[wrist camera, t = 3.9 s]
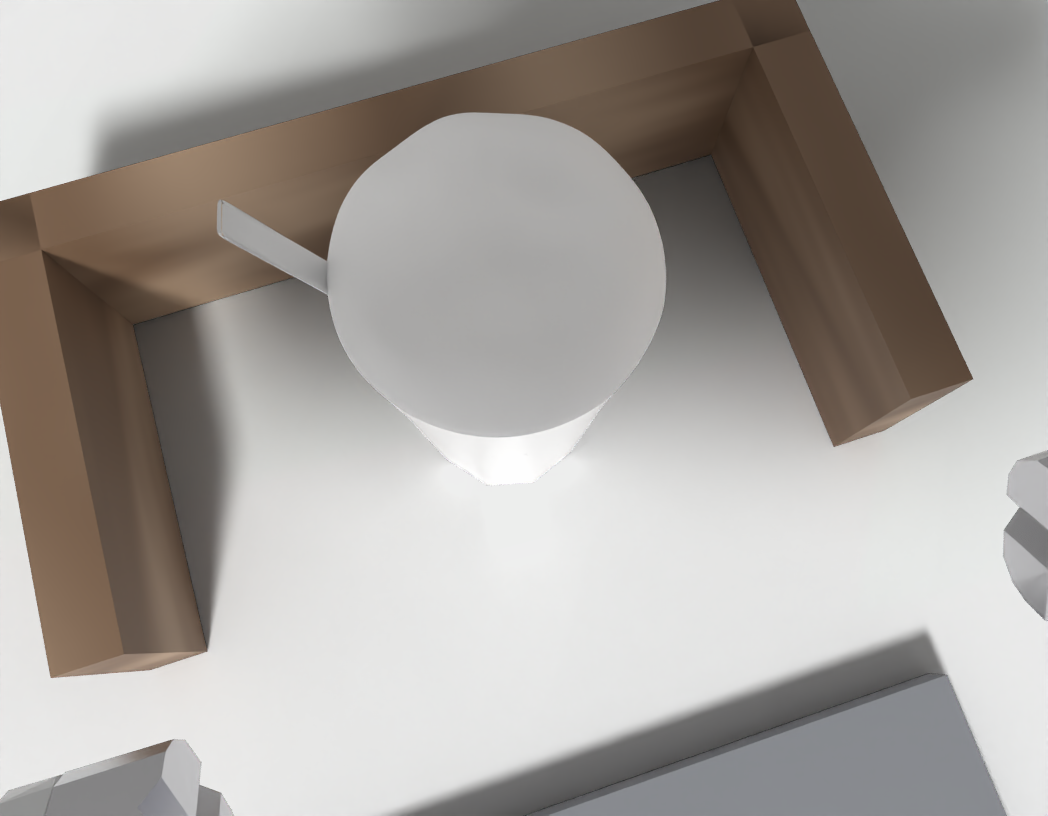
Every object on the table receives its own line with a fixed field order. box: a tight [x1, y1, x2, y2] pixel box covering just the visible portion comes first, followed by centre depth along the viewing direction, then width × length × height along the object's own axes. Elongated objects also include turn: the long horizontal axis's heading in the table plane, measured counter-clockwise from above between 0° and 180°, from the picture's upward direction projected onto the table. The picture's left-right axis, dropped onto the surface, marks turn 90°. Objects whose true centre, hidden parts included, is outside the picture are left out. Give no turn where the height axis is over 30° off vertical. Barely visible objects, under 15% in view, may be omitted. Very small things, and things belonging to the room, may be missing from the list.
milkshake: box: [217, 112, 666, 485], centre depth 15 cm, size 5×5×10 cm
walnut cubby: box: [0, 0, 973, 678], centre depth 18 cm, size 16×9×4 cm, turn 108°
